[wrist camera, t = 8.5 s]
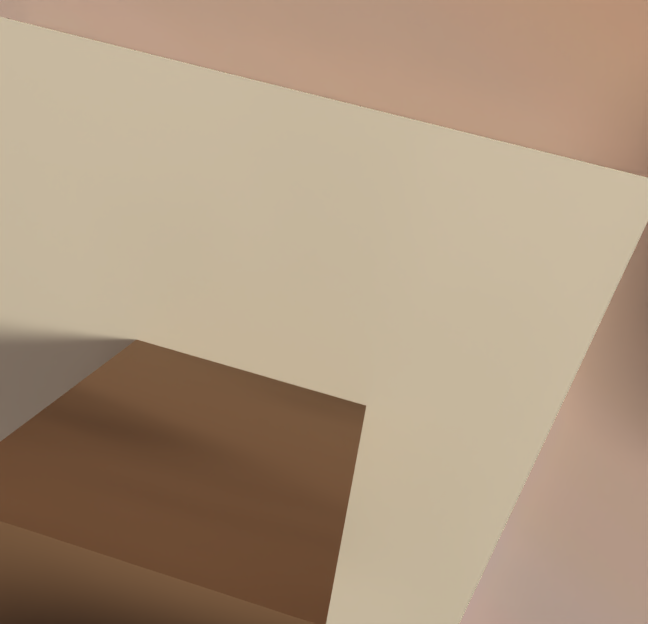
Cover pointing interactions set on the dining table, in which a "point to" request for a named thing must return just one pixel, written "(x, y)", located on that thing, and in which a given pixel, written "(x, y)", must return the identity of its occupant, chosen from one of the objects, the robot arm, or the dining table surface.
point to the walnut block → (176, 497)
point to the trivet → (310, 281)
